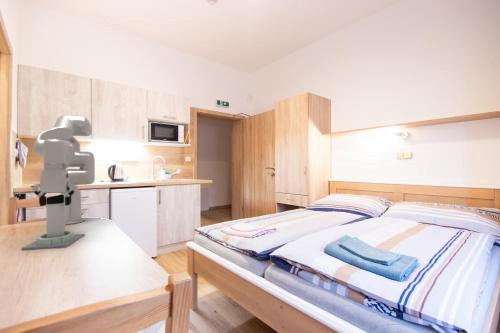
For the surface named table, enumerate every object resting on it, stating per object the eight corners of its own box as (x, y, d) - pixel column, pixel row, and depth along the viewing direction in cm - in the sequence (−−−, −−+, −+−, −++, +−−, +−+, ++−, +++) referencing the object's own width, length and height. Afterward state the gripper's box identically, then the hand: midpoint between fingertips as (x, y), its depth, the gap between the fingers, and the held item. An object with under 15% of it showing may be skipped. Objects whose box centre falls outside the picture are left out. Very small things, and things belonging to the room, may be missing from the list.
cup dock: (47, 237, 112) (46, 230, 112) (84, 235, 115) (84, 228, 115) (21, 250, 96) (21, 241, 96) (66, 247, 99) (66, 239, 99)
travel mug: (69, 237, 109) (68, 194, 108) (56, 242, 102) (55, 196, 102) (56, 237, 109) (55, 194, 109) (43, 242, 103) (42, 196, 102)
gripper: (80, 167, 110) (81, 203, 111) (38, 166, 107) (38, 204, 107) (72, 167, 103) (72, 206, 104) (26, 167, 99) (27, 207, 100)
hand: (55, 205), depth 106 cm, fingers open, 9 cm apart
